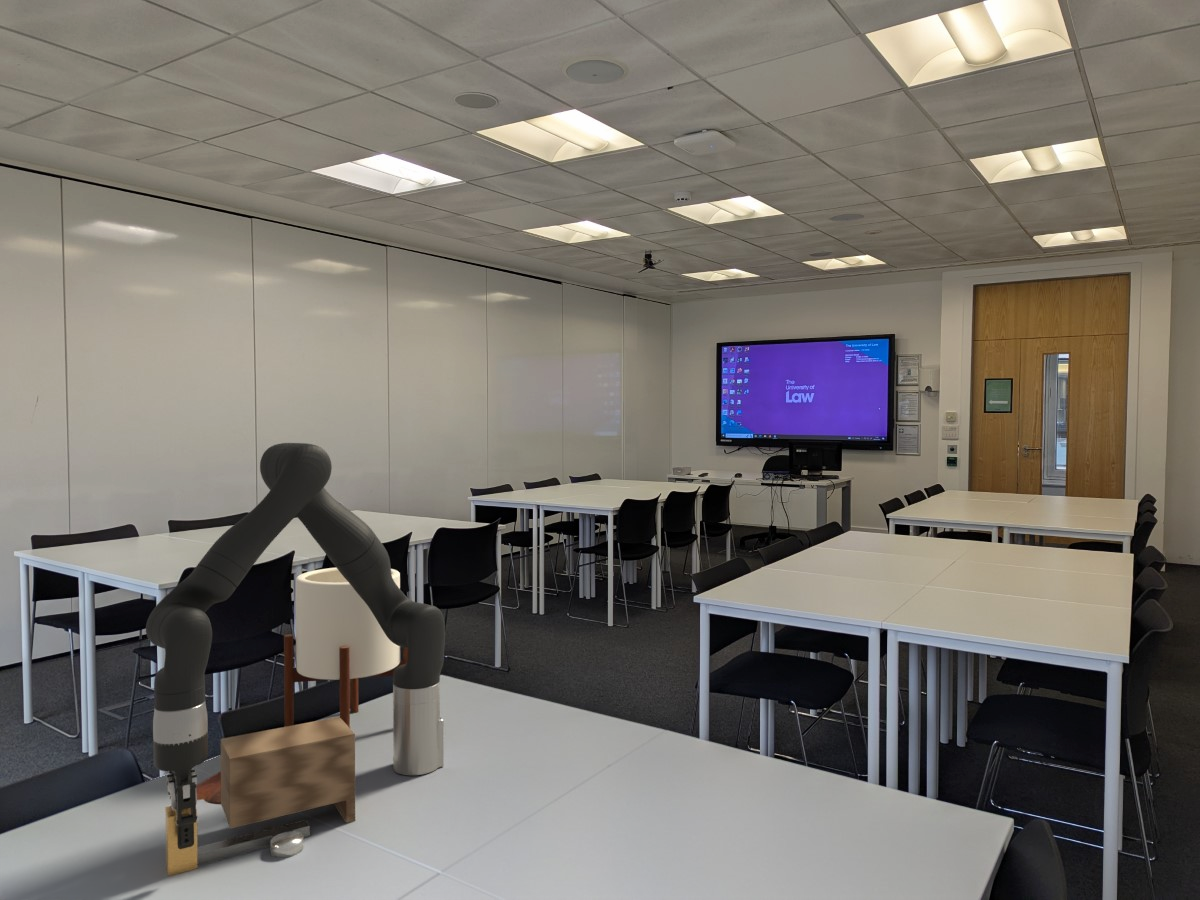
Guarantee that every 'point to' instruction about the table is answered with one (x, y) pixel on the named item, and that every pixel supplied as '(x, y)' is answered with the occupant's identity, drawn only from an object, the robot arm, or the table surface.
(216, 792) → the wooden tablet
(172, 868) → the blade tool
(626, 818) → the table surface
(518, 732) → the table surface
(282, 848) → the steel token
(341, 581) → the plant pot with stand
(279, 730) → the walnut cabinet
